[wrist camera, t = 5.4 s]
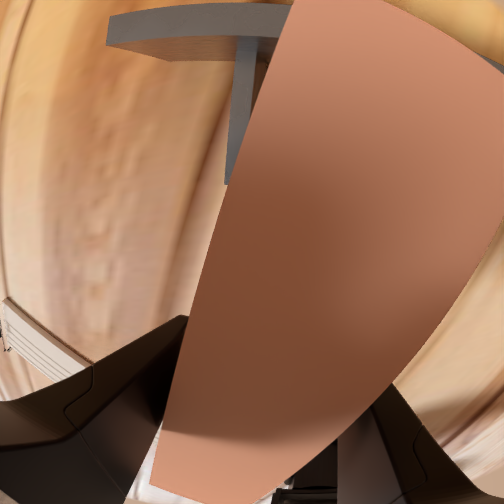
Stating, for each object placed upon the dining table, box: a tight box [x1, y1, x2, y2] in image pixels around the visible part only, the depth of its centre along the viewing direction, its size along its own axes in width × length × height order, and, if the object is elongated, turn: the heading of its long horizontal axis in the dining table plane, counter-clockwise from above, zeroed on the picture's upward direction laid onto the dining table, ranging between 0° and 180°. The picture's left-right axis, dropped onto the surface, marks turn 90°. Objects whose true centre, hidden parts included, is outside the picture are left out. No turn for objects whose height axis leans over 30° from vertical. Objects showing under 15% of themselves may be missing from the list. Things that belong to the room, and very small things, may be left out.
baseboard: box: [0, 298, 163, 445], centre depth 33 cm, size 31×3×12 cm
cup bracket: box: [106, 3, 504, 185], centre depth 14 cm, size 18×8×7 cm, turn 84°
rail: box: [149, 0, 504, 504], centre depth 8 cm, size 16×4×4 cm, turn 161°
